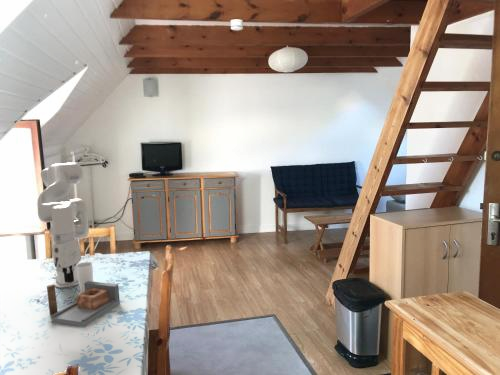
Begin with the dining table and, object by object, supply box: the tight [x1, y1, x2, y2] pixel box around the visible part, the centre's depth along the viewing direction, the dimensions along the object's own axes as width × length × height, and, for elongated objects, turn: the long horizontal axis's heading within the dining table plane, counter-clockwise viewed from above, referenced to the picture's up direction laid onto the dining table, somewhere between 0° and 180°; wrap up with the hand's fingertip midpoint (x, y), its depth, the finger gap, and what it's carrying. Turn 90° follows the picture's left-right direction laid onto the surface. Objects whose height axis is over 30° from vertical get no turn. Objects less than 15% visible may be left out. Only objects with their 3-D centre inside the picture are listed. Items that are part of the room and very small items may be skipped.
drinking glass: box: [76, 261, 94, 294], centre depth 190 cm, size 7×7×15 cm
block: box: [76, 288, 109, 309], centre depth 176 cm, size 9×9×5 cm
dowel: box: [46, 284, 59, 315], centre depth 173 cm, size 3×3×12 cm
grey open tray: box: [50, 281, 121, 328], centre depth 172 cm, size 16×22×9 cm
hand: (69, 281), depth 164 cm, fingers closed
